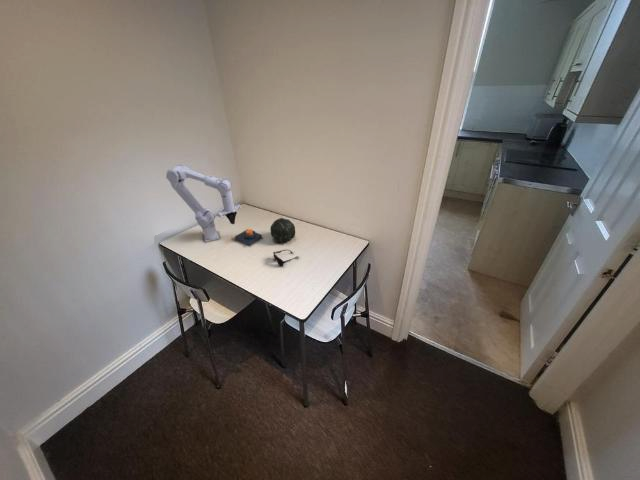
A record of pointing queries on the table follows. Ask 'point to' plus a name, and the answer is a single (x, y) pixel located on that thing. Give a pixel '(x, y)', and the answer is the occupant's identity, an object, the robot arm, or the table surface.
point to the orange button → (249, 232)
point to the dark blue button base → (248, 238)
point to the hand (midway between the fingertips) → (232, 223)
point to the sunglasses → (280, 259)
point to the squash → (282, 230)
